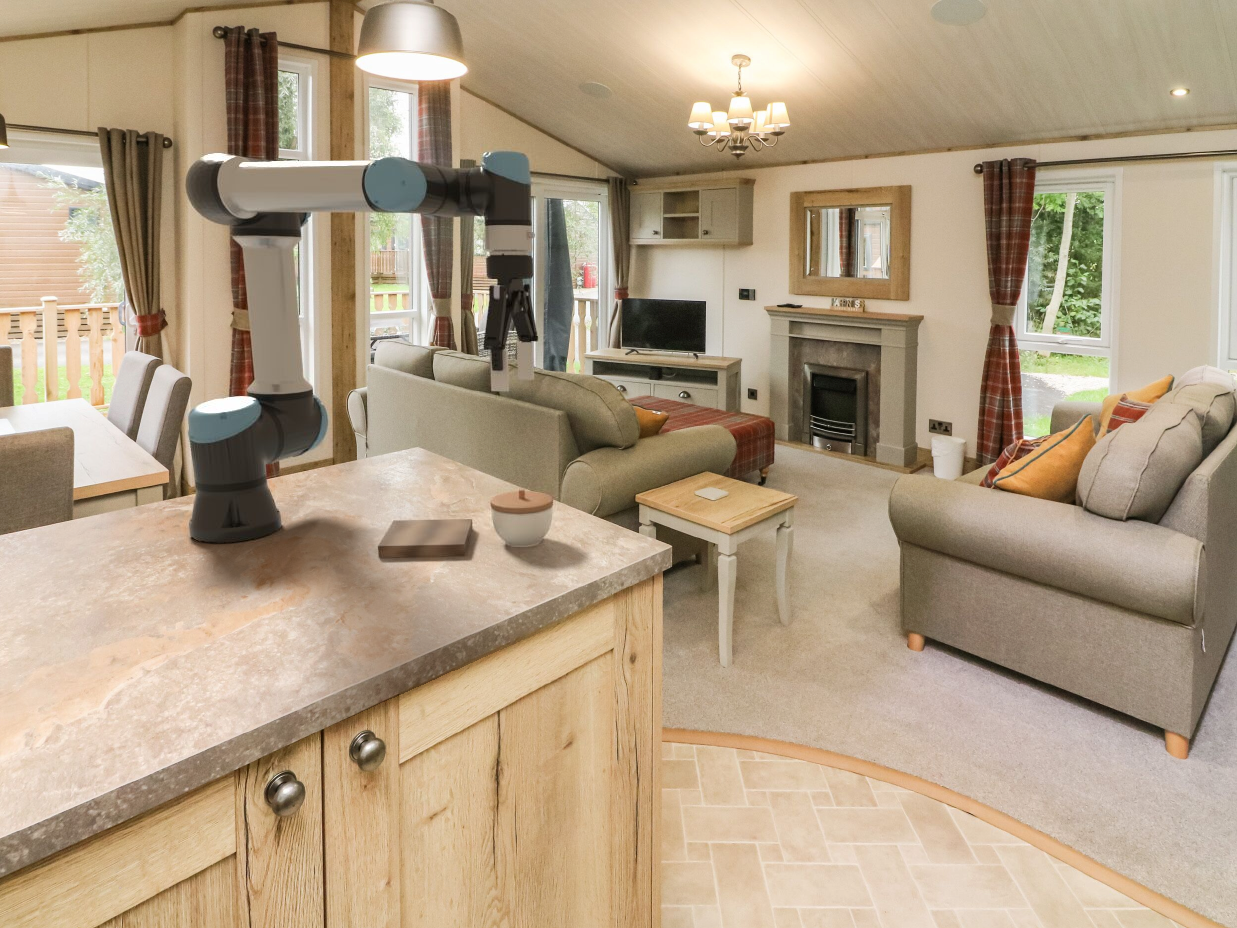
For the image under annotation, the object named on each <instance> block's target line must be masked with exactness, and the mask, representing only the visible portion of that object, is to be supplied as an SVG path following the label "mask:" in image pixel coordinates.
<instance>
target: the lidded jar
mask: <svg viewBox="0 0 1237 928" xmlns="http://www.w3.org/2000/svg"><path fill="white" fill-rule="evenodd" d="M489 504H490V508H491V509H490V510H491V512H490V513H491V521H492V524H493V528H494V530H495V532H496V534H497V535H498V537H499V538H500V539H501V540H502V541H504V543H505V544H506V545H507V546H508V547H512V548H519V549H521V548H522V549H523V548H532V547H535V546H537V545H539V544H541V541H542V539H544V538H545V537H546V536H547V534H548V533H549V531H550V528H551V526H552V520H553V515H554V514H553V513H554V512H553V510H554V507H553V506H554V498H553V497H552V496H551V495H549V494H548V493H544V492H540V491H534V490H533V491H532V490H531V491H529V490H526V489H523V488H521V489H518V490H517V491H510V492H504V493H500V494H496V495H495V496H493V497H492V498H490V502H489Z"/></svg>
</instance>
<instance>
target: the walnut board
mask: <svg viewBox="0 0 1237 928" xmlns="http://www.w3.org/2000/svg"><path fill="white" fill-rule="evenodd" d="M473 528H474V526H473V518H456V519H452V518H451V519H450V518H449V519H447V518H446V519H444V518H443V519H406V520H405V519H400V520H399V519H398V520H396V519H395V520H393V521H392V522H391V524H390V525H389V527H388V529H387V530H386V532H385V533H384V535H383V537H382V538H381V540H380V542H379V543H378V545H377V552H378V558H379V559H380V558H422V557H425V558H426V557H427V558H428V557H461V556H462V557H465V556H466V553H467V549H468V547H469V543H470V540H471V537H472V533H473V530H474V529H473Z"/></svg>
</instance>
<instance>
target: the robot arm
mask: <svg viewBox="0 0 1237 928" xmlns="http://www.w3.org/2000/svg"><path fill="white" fill-rule="evenodd" d="M480 165H481V166H477V167H476V166H475V167H461V168H460V167H459V168H458V167H457V168H455V167H446V166H443V165H435V164H430V163H426V162H425V163H424V162H419V161H415V160H410V159H408V158H405V157H402V156H400V157H399V156H382V157H379V158H378V159H376V160H374V159H373V160H370V159H368V160H367V159H366V160H365V159H364V160H362V159H361V160H323V161H321V160H320V161H319V160H316V161H315V160H314V161H275V160H274V159H273V160H272V159H271V160H270V159H262V158H254V157H246V156H240V155H234V154H229V153H211V154H207V155H203V156H201V157H199V158H198V159H197V160H195V161H194V162H193V163H192V164H191V166H190V167H189V169H188V171H187V173H186V175H185V176H186V177H185V184H184V185H185V193H186V195H187V198H188V201H189V203H190V204H191V206H192V207H193V209H194V210H195V211H196V212H197V213H198V214H199V215H200V216H201V217H203V218H204V219H206V220H208V221H210V222H213V223H215V224H219V225H223V226H228V227H231V235H232V237H231V238H232V239H233V240H234V241H235V242H236V243H237V244H239V246H241V248H242V256H243V266H244V267H243V268H244V277H245V289H246V290H245V291H246V297H247V298H246V299H247V310H248V322H249V333H250V341H251V342H250V343H251V344H250V345H251V353H252V354H251V355H252V363H253V364H252V365H253V374H254V375H253V376H254V380H253V382H252V383H251V384H249V385H248V387H247V388H246V395H247V396H244V395H243V396H241V395H239V396H229V397H223V398H215V399H212V400H209V401H205V402H202V403H199V404H198V405H196V406H194V407H193V408H192V409H191V410H190V412H189V414H188V417H187V420H188V421H187V422H188V423H187V424H188V429H187V430H188V431H187V436H188V441H189V447H190V453H191V461H192V467H193V469H192V470H193V476H194V485H195V486H194V487H195V497H194V501H193V507H192V515H191V518H190V519H189V520H188V521H189V522H188V529H189V537H190V536H191V537H193V538H194V539H197V540H200V541H199V542H201V541H205V542H204V543H209V542H217V543H219V544H224V542H225V544H227V543H236V542H237V541H238V542H243V541H249V540H250V541H251V540H255V539H258V538H262V537H265V536H268V535H271V534H273V533H275V532H277V531H278V530H279V529H281V528H282V525H283V524H282V515H281V512H280V509H279V508H278V507H277V504H276V502H275V499H274V497H273V495H272V493H271V490H270V487H269V486H268V480H267V479H268V477H267V467H266V465H269V464H272V463H276V462H279V461H283V460H285V459H289V458H296V457H299V456H302V455H304V454H306V453H308V452H311V451H313V450H315V449H316V448H318V446H320V444H321V443H322V442H323V440H324V439H325V437H326V435H327V432H328V428H329V427H328V426H329V417H328V412H327V409H326V407H325V405H323V404H322V401H321V399H320V398H319V397H318V396H316V395H315V394H314V386H313V385H312V384H311V383H309V381H307V380H306V379H305V377H304V367H303V365H304V364H303V353H302V341H301V340H302V339H301V329H300V327H301V326H300V316H299V315H300V314H299V304H298V303H299V302H298V301H299V300H298V290H297V279H296V278H297V275H296V263H295V252H294V251H295V247H296V246H297V245H298V244H299V242H301V241H302V229H301V228H302V227H304V226H305V225H306V224H308V222H309V220H308V219H309V218H311V215H312V213H382V214H386V213H387V214H388V213H389V214H391V213H392V214H396V213H397V214H400V213H401V214H419V215H422V216H424V217H426V218H433V219H448V218H463V217H464V218H465V217H467V218H468V217H483V219H484V247H485V248H484V250H485V251H486V252H488V254H489V255H487V256H486V257H485V267H486V268H485V269H486V270H485V271H486V277H487V278H488V279H490V280H496V281H497V282H496V283H497V284H496V285H493V284H492V285H491V284H490V285H489V287H488V307H487V316H486V324H485V330H484V338H483V350H484V351H489V357H490V358H489V362H490V364H489V365H490V389H491V392H510V377H509V376H510V375H509V374H510V373H509V351H508V349H506V345H507V341H508V337H509V332H510V327H511V323H512V322H513V325H514V329H515V332H516V335H517V338H518V341H517V342H516V354H517V355H516V357H517V358H516V359H517V362H516V363H517V380H518V381H533V380H534V381H535V369H534V368H535V365H534V363H535V362H534V360H535V359H534V342H536V343H537V342H538V341H539V335H538V331H537V326H536V321H535V314H534V309H533V303H532V298H531V285H530V283H524V281H523V280H530V279H533V277H534V257H532V255H529V254H530V252H532V250H533V239H534V238H535V237H536V234H535V232H534V231H533V230H532V229H533V228H532V226H533V224H532V223H533V222H532V184H533V182H532V180H531V179H532V178H531V167H530V160H529V157H528V156H527V155H526V154H524V153H523V152H520V151H514V150H512V151H511V150H495V151H494V150H491V151H486V152H484V153H483V155H482V157H481V163H480ZM191 537H190V538H191ZM194 539H193V540H194ZM197 540H196V541H197ZM217 543H216V544H217Z"/></svg>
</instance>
